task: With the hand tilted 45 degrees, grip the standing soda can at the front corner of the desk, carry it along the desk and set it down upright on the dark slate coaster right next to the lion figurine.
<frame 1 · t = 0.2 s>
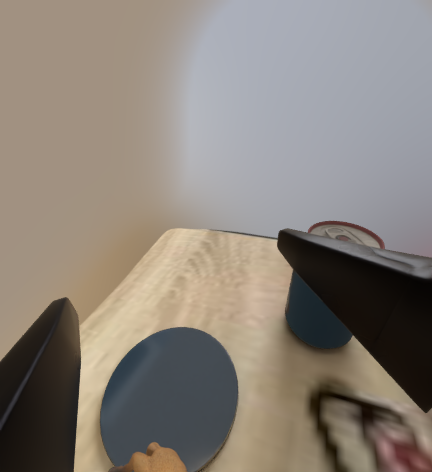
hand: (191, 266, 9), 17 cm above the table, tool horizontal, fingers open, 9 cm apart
soda can: (314, 326, 25), on the table
coaster: (172, 389, 20), on the table
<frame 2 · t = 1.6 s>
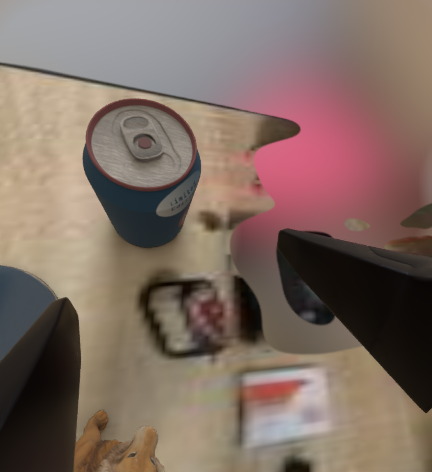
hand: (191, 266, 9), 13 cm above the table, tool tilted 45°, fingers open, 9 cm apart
soda can: (149, 218, 23), on the table
lion figurine: (61, 430, 17), on the table, touching coaster
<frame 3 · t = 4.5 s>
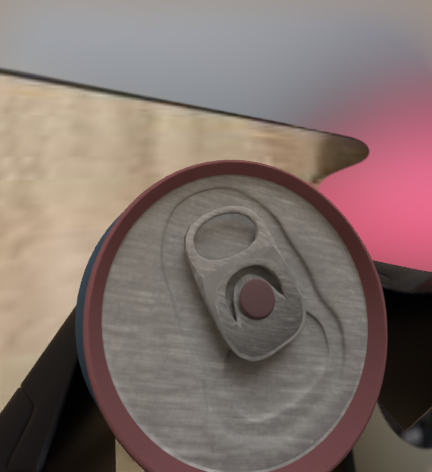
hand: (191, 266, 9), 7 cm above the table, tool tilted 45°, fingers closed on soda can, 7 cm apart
soda can: (182, 299, 15), on the table, touching gripper
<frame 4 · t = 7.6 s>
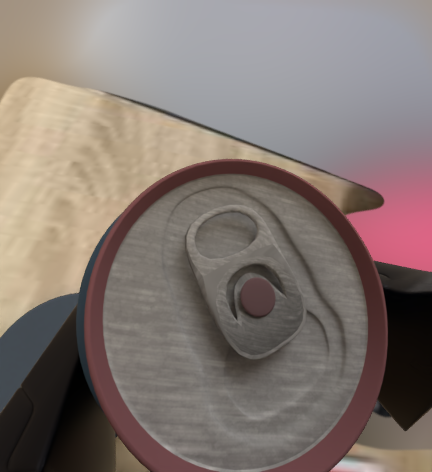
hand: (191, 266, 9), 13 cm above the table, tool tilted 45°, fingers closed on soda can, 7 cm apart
soda can: (182, 299, 15), point 6 cm above the table, touching gripper
coaster: (76, 369, 18), on the table
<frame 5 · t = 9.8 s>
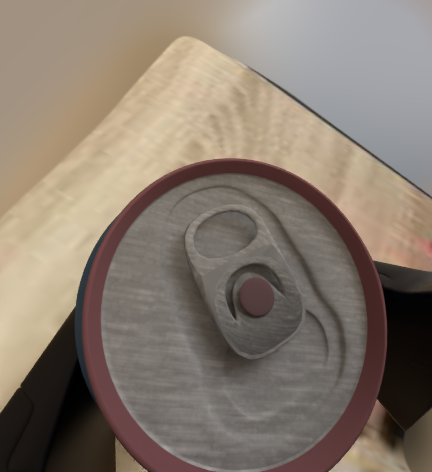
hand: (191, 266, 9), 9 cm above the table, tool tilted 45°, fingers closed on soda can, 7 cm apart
soda can: (181, 299, 15), point 3 cm above the table, touching gripper
when the fingers open (7 cm above the table, at t = 11.1 s): soda can stays where it is, resting on coaster.
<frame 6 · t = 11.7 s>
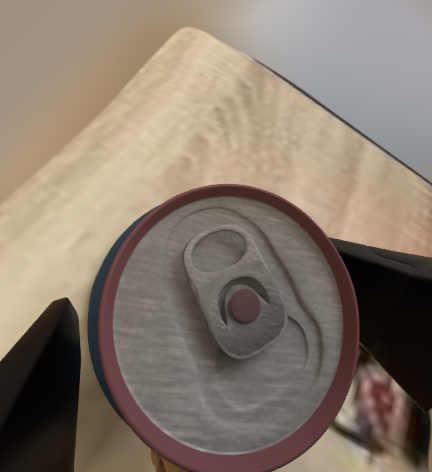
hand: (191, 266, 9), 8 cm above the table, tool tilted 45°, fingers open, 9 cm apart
soda can: (181, 302, 16), resting on coaster
lion figurine: (216, 443, 14), on the table, touching coaster
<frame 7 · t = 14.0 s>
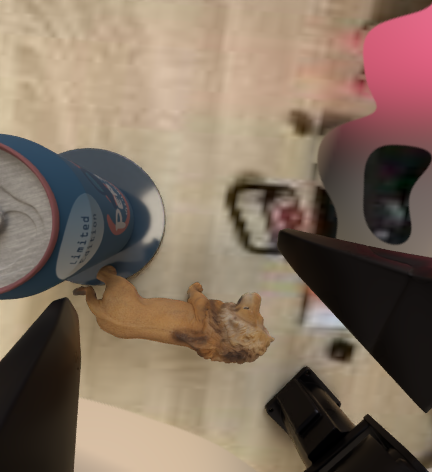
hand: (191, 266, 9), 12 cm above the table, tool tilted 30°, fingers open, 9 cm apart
soda can: (96, 219, 19), resting on coaster
lion figurine: (168, 291, 21), on the table, touching coaster
coaster: (97, 218, 20), on the table
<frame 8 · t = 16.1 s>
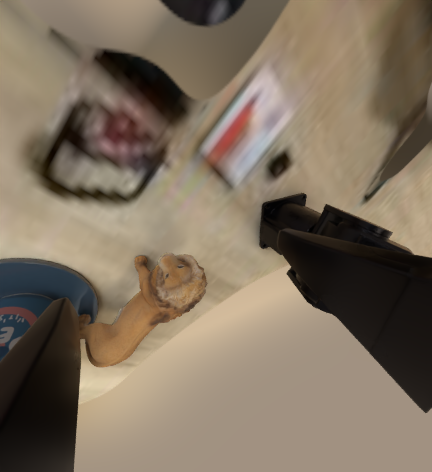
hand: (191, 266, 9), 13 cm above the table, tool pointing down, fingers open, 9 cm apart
soda can: (25, 315, 20), resting on coaster
lion figurine: (129, 280, 23), on the table, touching coaster
coaster: (24, 312, 20), on the table
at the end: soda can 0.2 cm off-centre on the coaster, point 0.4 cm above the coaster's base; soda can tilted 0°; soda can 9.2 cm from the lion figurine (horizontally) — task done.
